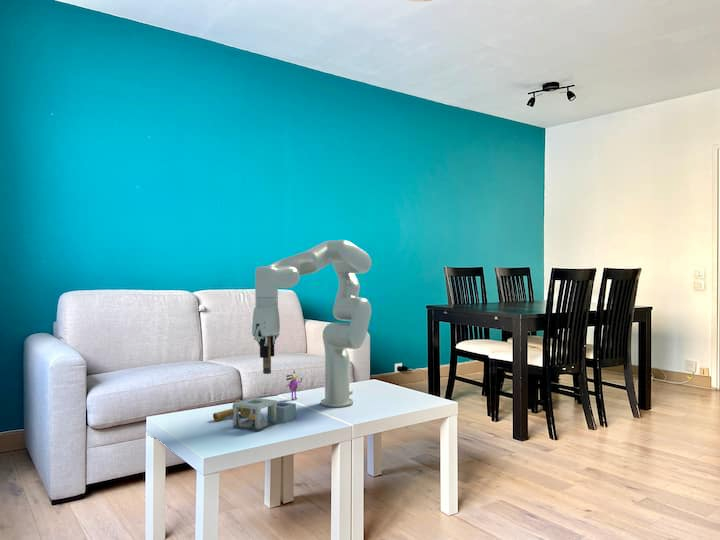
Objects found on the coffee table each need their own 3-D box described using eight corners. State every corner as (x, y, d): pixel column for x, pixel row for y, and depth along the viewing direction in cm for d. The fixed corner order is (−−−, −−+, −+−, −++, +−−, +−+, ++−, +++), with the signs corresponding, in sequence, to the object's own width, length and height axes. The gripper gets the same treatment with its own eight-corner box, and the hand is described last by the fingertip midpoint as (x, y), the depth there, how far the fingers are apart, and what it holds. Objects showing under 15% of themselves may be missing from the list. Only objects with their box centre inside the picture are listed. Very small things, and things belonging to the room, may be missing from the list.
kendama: (223, 428, 179) (267, 411, 192) (219, 409, 180) (263, 394, 192) (212, 427, 185) (255, 411, 197) (208, 409, 185) (252, 394, 198)
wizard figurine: (288, 402, 209) (288, 372, 210) (281, 401, 211) (281, 371, 211) (304, 397, 219) (304, 368, 220) (298, 396, 221) (298, 367, 221)
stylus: (266, 372, 182) (265, 328, 182) (272, 372, 181) (272, 328, 181) (261, 373, 180) (261, 329, 180) (267, 374, 179) (267, 329, 179)
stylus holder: (279, 415, 190) (279, 401, 190) (295, 418, 187) (295, 403, 187) (267, 420, 184) (267, 405, 184) (284, 422, 181) (284, 408, 181)
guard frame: (252, 420, 183) (252, 397, 183) (276, 424, 179) (276, 400, 179) (233, 427, 174) (233, 403, 175) (258, 431, 170) (258, 406, 170)
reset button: (254, 419, 179) (254, 413, 179) (263, 420, 178) (263, 414, 178) (246, 422, 176) (246, 416, 176) (256, 423, 174) (256, 417, 174)
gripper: (271, 301, 189) (272, 352, 190) (242, 304, 175) (243, 359, 175) (289, 301, 186) (289, 354, 186) (261, 304, 172) (261, 361, 172)
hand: (267, 356), depth 181 cm, fingers closed on stylus, 2 cm apart
